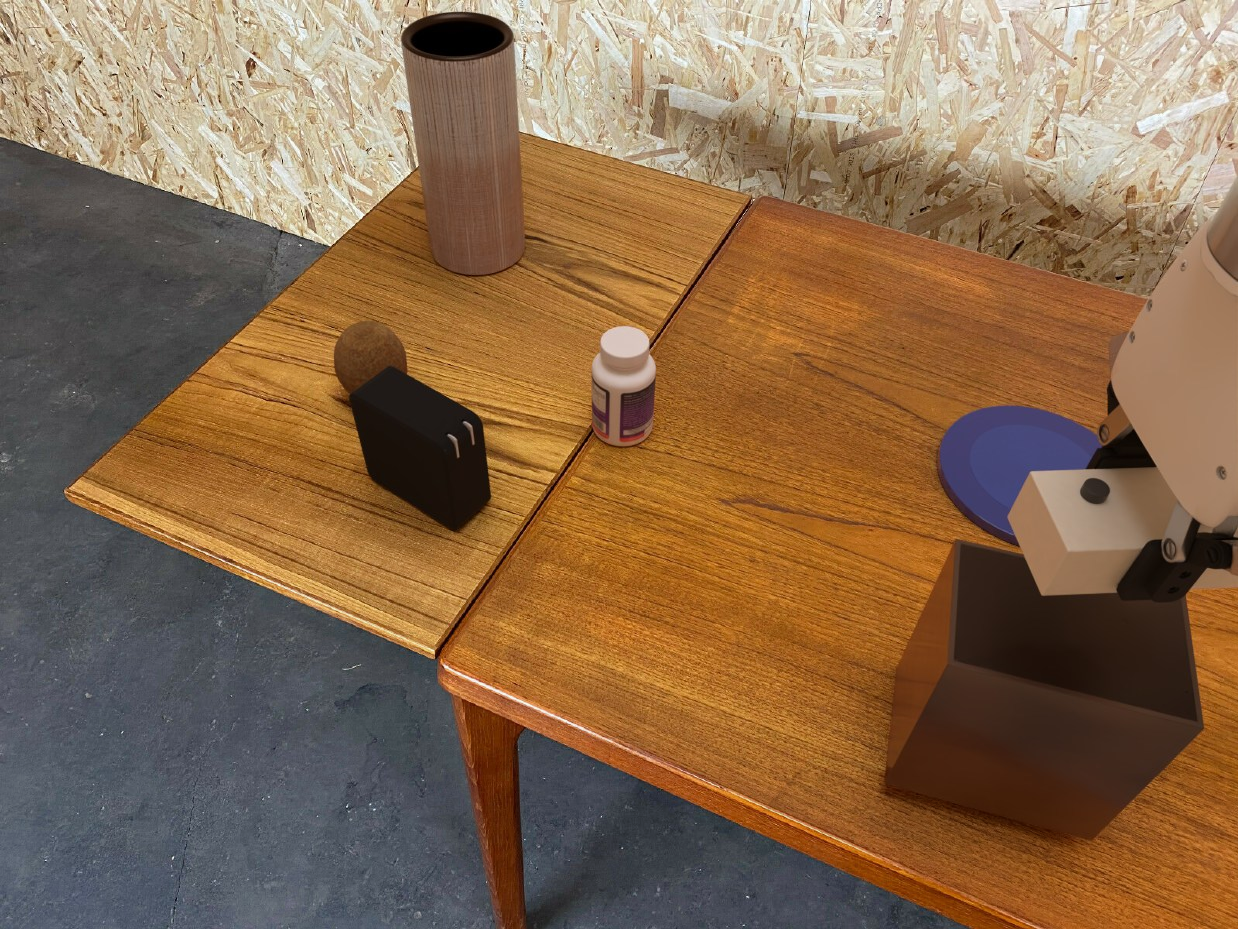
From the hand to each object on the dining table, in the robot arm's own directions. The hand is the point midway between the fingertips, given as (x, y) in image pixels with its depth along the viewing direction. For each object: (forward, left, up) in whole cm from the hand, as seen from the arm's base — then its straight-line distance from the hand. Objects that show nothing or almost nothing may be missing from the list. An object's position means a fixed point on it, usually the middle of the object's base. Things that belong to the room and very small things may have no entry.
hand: (1123, 544), depth 48 cm
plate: (-3, -26, -22) cm, 35 cm away
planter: (+54, -43, -22) cm, 72 cm away
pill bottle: (+32, -22, -22) cm, 45 cm away
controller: (0, 0, -1) cm, 1 cm away
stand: (0, 0, -22) cm, 22 cm away
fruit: (+54, -19, -22) cm, 61 cm away
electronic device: (+45, -10, -22) cm, 51 cm away
